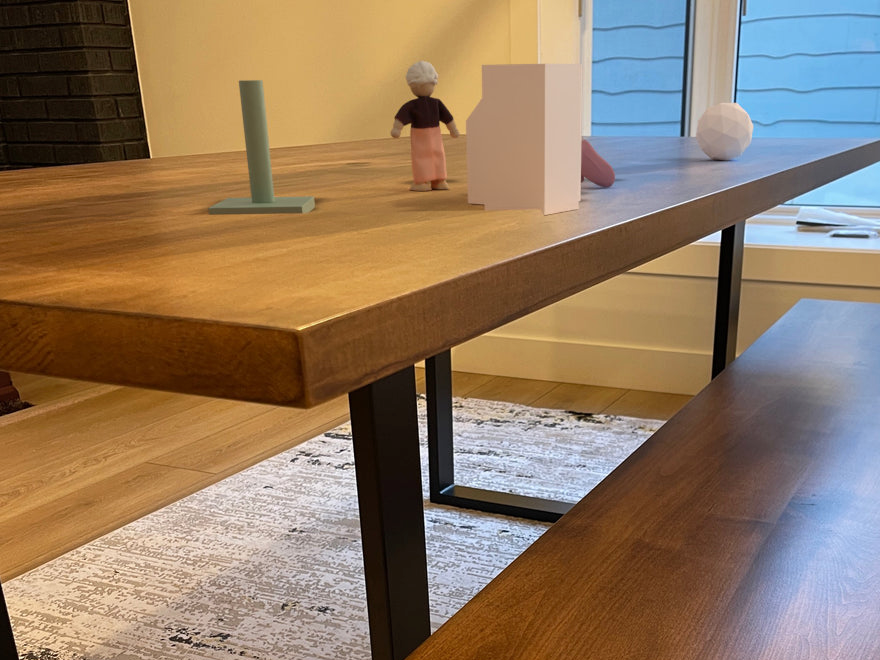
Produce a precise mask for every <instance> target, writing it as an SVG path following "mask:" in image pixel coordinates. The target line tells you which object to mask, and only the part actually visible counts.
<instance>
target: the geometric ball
mask: <svg viewBox="0 0 880 660" xmlns="http://www.w3.org/2000/svg"><path fill="white" fill-rule="evenodd" d="M754 127H755V126H754V124H753V122H752V119H751V117H750V115H749V113H748V112H747V111H746V110H745V109H744V108H743V107H742V106H741V105H740V104H739V103H738V102H719V103H717V104H715V105H711V106H709V107H707V109H706V110H705V111H704V112H703V114H702V115H701V116H700V118H699V120H698V121H697V127H696V133H695V139H696V142H697V144H698V146H699V148H700V150H701V151H702V152H703V153H704V154H705V155H706V156H707V157H708V158H710V159H711V160H712V161H730V160H733V159H735V158H738V157H741V156H742V154H743V153H744V152H745V151H746V149H748V147H749V145H751V142H752V138H753V132H754Z"/></svg>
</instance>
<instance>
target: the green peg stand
mask: <svg viewBox="0 0 880 660" xmlns="http://www.w3.org/2000/svg"><path fill="white" fill-rule="evenodd" d="M238 88H239V97H240V105H241V116H242V124H243V130H244V131H243V134H244V142H245V143H244V144H245V151H246V162H247V170H248V171H247V172H248V179H249V188H250V196H251V197H249V196H248V197H247V196H246V197H245V196H244V197H227V198H225V199H223V200H221V201H219V202H217V203H215V204H213V205H211V206H210V207H208V208H207V210H208V215H209V216H216V215H217V216H220V215H221V216H222V215H224V216H225V215H228V216H230V215H274V214H275V215H280V214H281V215H283V214H285V215H286V214H291V215H292V214H309V213H311V212H312V211H313V210H314V209H315V208H316V203H315V202H316V201H315V196H314V195H313V196H312V195H311V196H309V195H308V196H275V189H274V181H273V180H274V179H273V171H272V160H271V151H270V140H269V131H268V121H267V112H266V111H267V110H266V101H265V91H264V81H263V79H259V80H258V79H257V80H255V79H254V80H253V79H252V80H250V79H249V80H248V79H244V80H241V79H240V80H238Z"/></svg>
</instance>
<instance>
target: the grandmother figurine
mask: <svg viewBox="0 0 880 660" xmlns="http://www.w3.org/2000/svg"><path fill="white" fill-rule="evenodd" d="M438 78H439V74H438V73H437V71H436V69H435V67H434V66H433V64H432V63H430V62H429V61H425V60H419V61H416V62H414V63H413V64H412V65H410V66H409V67H408V68H407V72H406V74H405V80H406V84H407V86H408V87H409V88H410V91H411V93H412V94H413V95H414V96H415V97H416V98H413V99H410V100H408V101H406V102H405V103H404V104H402V105H401V107H400V108H399V109H398V110H397V112H396V114H395V115H394V122H393V125H392V126H393V127H392V129H391V130H390V136H391V138H393V139H399V138H400V137H401V134H402V130H404V127H405V126H408V125H410V129H409V130H410V131H409V137H410V139H409V140H410V155H411V156H410V158H411V169H412V178H413V182H412V183H411V184H410V186H409V190H410V191H415V192H429V191H432V190H449V189H450V185H449V184H448V183H447V181H446V179H448V175H447V174H448V173H447V163H446V162H447V161H446V154H445V153H446V152H445V148H444V142H443V136H442V131H441V130H442V129H441V126H440V122H441V124H444V125H445V128H446V129H447V130H448V131H449V136H450V137H451V138H452V139H457V138H459V137H460V131H459V128H457V124H456V121H455V120H454V116H453V114H451V113H452V112H450V110H449V109H448V108H447V106H446V105H445V104H444V103H443V101H442V100H441V99H440V98H437V97H432V94H433V93H434V91H435V88H436V87H435V86H437V85H438V84H439V82H438ZM428 182H430V185H429V183H428Z"/></svg>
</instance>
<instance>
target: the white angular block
mask: <svg viewBox="0 0 880 660" xmlns="http://www.w3.org/2000/svg"><path fill="white" fill-rule="evenodd" d="M583 72H584V65H583V64H581V63H511V64H509V63H507V64H506V63H505V64H504V63H503V64H481V99H480V100H479V101H478V103H477V104H476V106H475V107H474V108H473V110H472V112H471V113H470V115H468V117H467V118H466V120H465V139H466V145H465V146H466V177H467V178H466V179H467V181H466V182H467V204H471V205H472V204H473V205H482V206H484V210H483V211H516V210H517V211H518V210H519V211H520V210H521V211H525V210H526V211H527V210H529V211H531V210H540V211H541V214H542V215H543V216H549V215H553V214H559V213H564V212H569V211H570V212H571V211H576V210H579V208H580V207H579V206H580V202H581V190H582V188H581V185H582V183H581V137H583V135H582V132H583V131H582V130H583V80H584V79H583V75H584V73H583Z"/></svg>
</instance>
